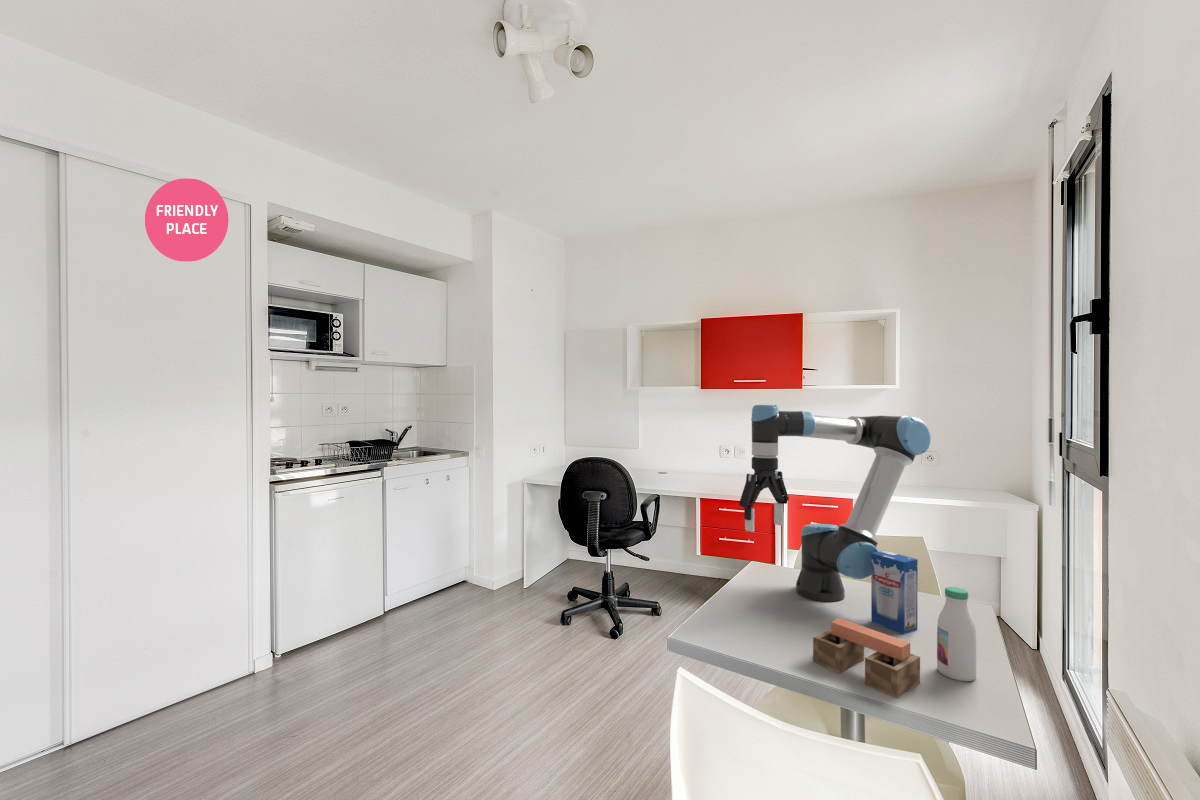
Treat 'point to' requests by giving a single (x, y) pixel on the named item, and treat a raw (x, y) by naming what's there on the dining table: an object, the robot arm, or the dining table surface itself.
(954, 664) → the milk bottle
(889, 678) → the keyhole plates
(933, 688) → the dining table surface
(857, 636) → the salmon bridge bar
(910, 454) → the robot arm
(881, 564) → the milk carton
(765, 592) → the dining table surface
